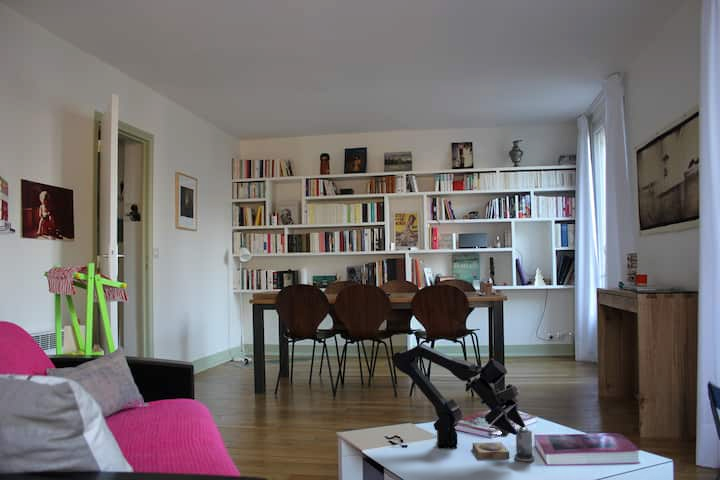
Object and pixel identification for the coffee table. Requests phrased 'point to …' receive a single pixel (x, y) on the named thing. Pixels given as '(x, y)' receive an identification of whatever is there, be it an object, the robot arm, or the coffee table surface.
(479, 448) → the stand
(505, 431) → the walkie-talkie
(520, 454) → the cylinder
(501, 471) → the coffee table surface
